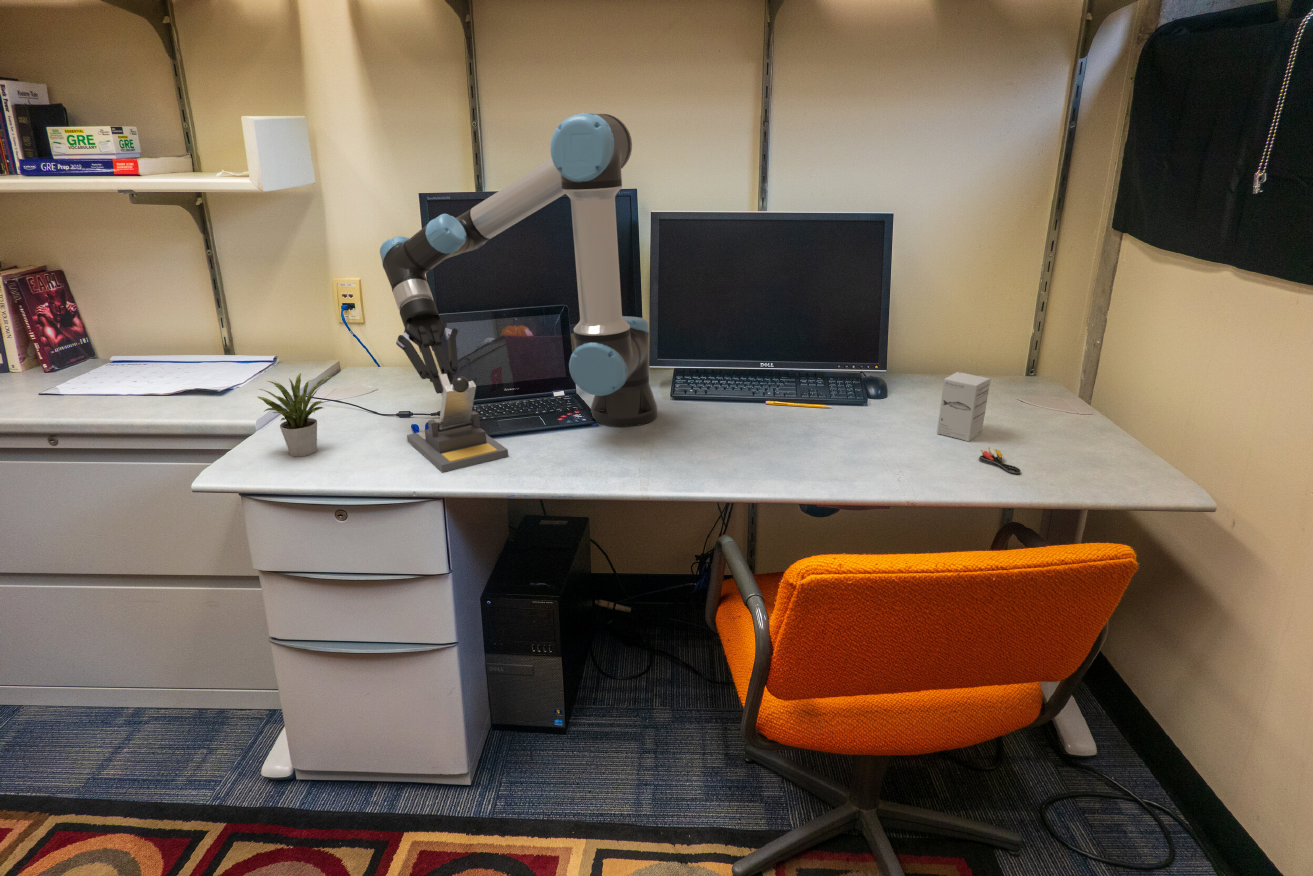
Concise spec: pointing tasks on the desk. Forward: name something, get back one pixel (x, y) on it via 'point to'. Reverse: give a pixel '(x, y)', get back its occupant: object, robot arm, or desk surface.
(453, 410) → the toggle lever
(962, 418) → the supplement box
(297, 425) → the house plant
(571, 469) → the desk surface
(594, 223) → the robot arm
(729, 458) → the desk surface
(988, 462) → the composite cable
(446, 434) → the switch unit
